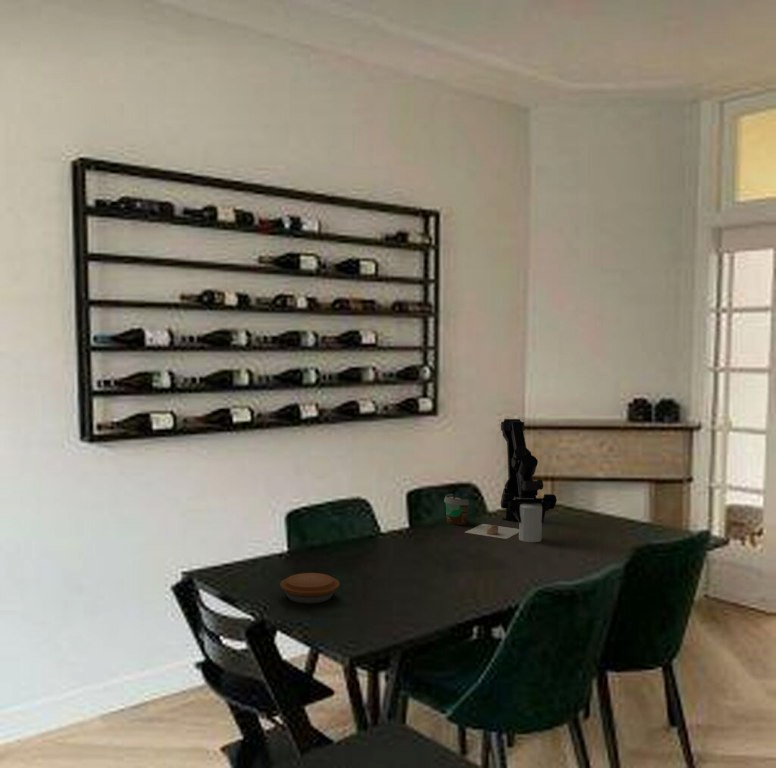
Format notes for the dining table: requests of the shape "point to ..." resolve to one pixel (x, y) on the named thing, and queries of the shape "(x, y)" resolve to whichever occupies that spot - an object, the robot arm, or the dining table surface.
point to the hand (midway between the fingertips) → (531, 522)
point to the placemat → (502, 533)
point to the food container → (456, 510)
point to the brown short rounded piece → (492, 530)
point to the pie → (309, 587)
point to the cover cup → (530, 523)
